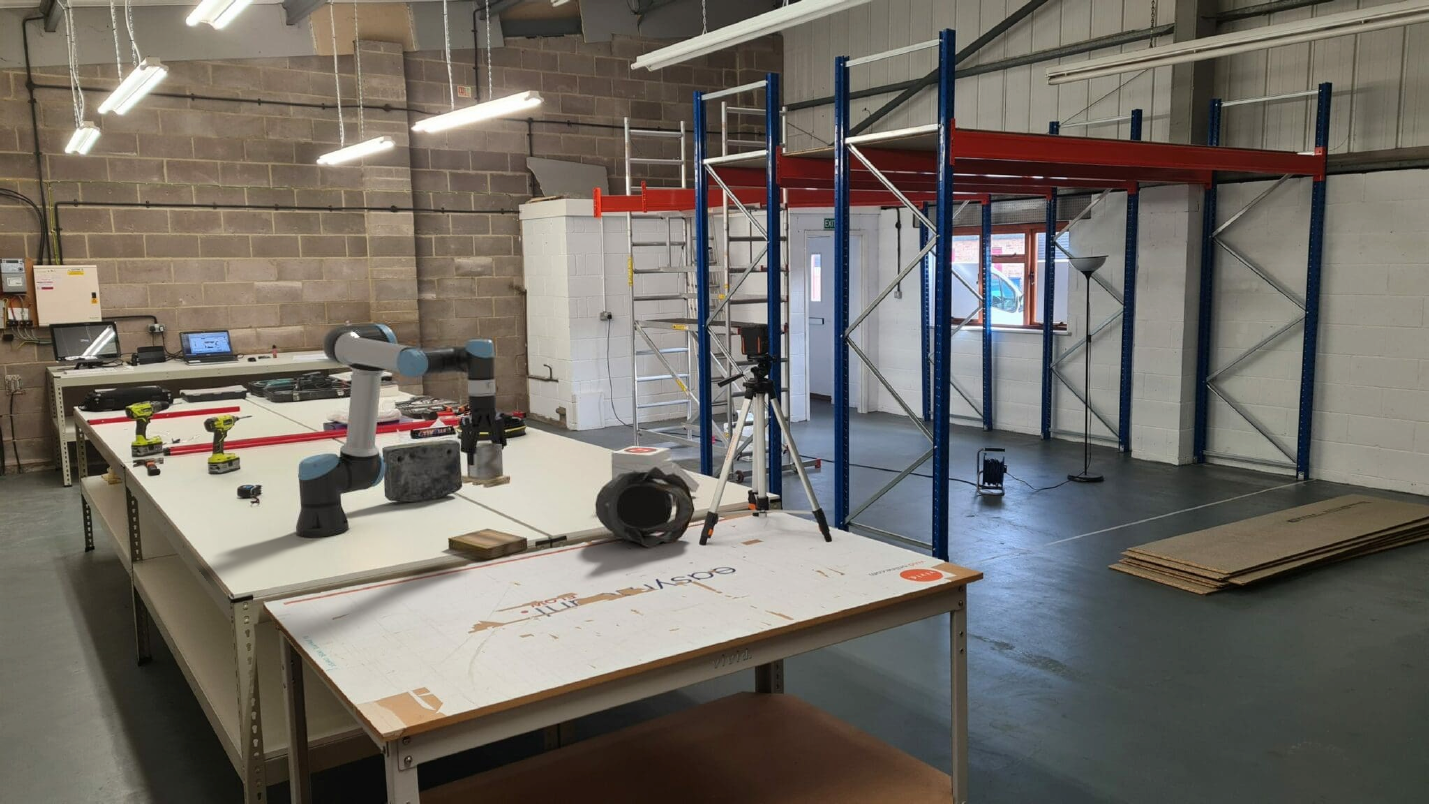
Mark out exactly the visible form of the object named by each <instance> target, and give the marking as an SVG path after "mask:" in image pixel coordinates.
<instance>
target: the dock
mask: <svg viewBox="0 0 1429 804" xmlns="http://www.w3.org/2000/svg"><path fill="white" fill-rule="evenodd" d="M447 540H448V543H447V544H448V549H449V550H452V551H457V552H461V553H464V554H467V555H470V556H475V557H478V558H482V559H485V560H490V559H494V558H498V557H501V556H504V555H509V554H513V553H516V552H520V551H523V550H525V549H528V537H524V536H519V535H515V534H512V533H508V532H504V531H503V532H502V531H498V530H495V529H491V528H484V529H480V530H476V531H472V532H469V533H465V534H460V535H456V536H452V537H448V538H447Z"/></svg>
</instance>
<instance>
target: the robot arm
mask: <svg viewBox="0 0 1429 804" xmlns="http://www.w3.org/2000/svg"><path fill="white" fill-rule="evenodd" d="M322 348H323V353H324V354H325V356H326V357H327V358H328V360H330V361H332V362H333V363H335V364H339V365H345V366H347V367H348V368H349V369H350V370H352V373H351V374H352V375H351V384H350V395H349V396H350V397H349V407H348V408H349V409H348V419H347V427H346V428H347V430H346V441H345V443H344V444H343V445H341V447H340V450H339V455H338V454H336V453H323V454H315V455H312V456H309V457H306V458H304V459H302V460H301V461H300V462H299V464H298V474H297V478H298V484H299V486H298V487H299V500H300V511H299V513H298V518H297V521H296V526H295V533H296V536H299V537H303V538H319V537H320V538H321V537H322V538H323V537H330V536H335V535H339V534H342V533H345V532H347V531H349V520H348V518H347V516H346V513H345V511H344V509H343V506H342V498H341V497H342V494H343V495H345V494H347V493H348V494H349V493H353V492H358V491H363V490H364V491H365V490H368V489H370V488H374V487H376V486H378V485H379V484H380V483H381V482H382V481H383V480H384V474H385V462H383V461H384V458H383V454H381V452H380V450H379V448H378V447H377V446H376V444H375V443H376V434H377V423H378V414H379V404H380V395H381V393H380V392H381V387H382V386H381V383H382V375H383V373H385V372H386V371H387V370H390V371H394V372H399V374H402V376H403V377H406V378H410V377H411V378H418V377H421V376H422V377H423V376H430V375H440V374H441V375H443V374H451V373H465V374H466V373H467V393H468V394H469V396H468V398H467V399H468V408H469V414H468V415H467V416H463V417H462V416H461V417H460V424H461V433H460V434H461V436H460V439H461V440H460V453H464V454H466V465H467V464H468V465H469V466H470V476H472V477H478V464H477V454H474V453H475V449H476V445H477V444H478V441H479V438H480V434H481V431H483V430H482V429H483V428H485V429H486V430H487V434H488V436H489V439H490V441H491V442H490V443H495V444H501V445H502V451H503V450H504V449H505V447H507V445H508V441H507V433H506V427H505V417H506V416H505V413H504V412H499V411H496V408H497V395H495V393H496V380H495V379H496V377H495V376H496V374H495V372H496V371H495V351H494V350H495V349H494V348H495V347H494V343H493V341H492V339H468V340H467V341H466V342H465V346H464V345H452V344H450V345H442V346H438V347H427V348H426V347H425V348H423V347H422V348H421V347H415V346H408V345H405V344H398V341H397V338H396V335H395V334H394V332H393V331H392V329H391V328H390V327H388V326H387V325H385V324H382V323H365V324H351V325H339V326H337V327H334V328H332V329H330V330H329V331H328V332H327V333H326V334H325V336H324V337H323V341H322Z"/></svg>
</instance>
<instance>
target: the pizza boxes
mask: <svg viewBox="0 0 1429 804" xmlns="http://www.w3.org/2000/svg"><path fill="white" fill-rule="evenodd" d="M654 467H657V468H659V469H660V470H661V471H662V472H663V473H664V474H665V475H668V474H675V475H677V476H680V477H681V478H682V479H683V480H684V481H685V483H686V484H687V486H688V488H689V490H690V493H696V492H697V491H698V489H699V487H700V484H699V483H698V482H697V481H696V480H695V479H694V478H693V477H692V476H690V474H689V473H687V471H685V470H684V469H683V468H682V467H681V466H680V465H679V464H677V463H676V462H673V459H672V458H671V448H669V447H654V446H653V447H651V446H640V445H639V446H638V445H637V446H636V445H631V446H629V447H625V448H623V449H619V450H616V451H612V452H611V480H613V479H615V478H617V477H618V475H619V474H621V473H624V472H633V471H636V472H647V471H649V470H651V469H652V468H654ZM653 480H654V481H656V482H658V483H663V484H667V483H665V482H664V481H663V480H661V479H660V480H658V479H653ZM669 495H670V497H671V499H672V503H673V500H674V496H672V495H671V494H669Z"/></svg>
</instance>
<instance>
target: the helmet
mask: <svg viewBox="0 0 1429 804" xmlns="http://www.w3.org/2000/svg"><path fill="white" fill-rule="evenodd" d="M653 479H658V480H660V479H661V480H663V481H664V482H665V483H667V484H663V483H658V482H656V481H654V480H653ZM669 494H671V495H672V496H673V498H675V507H676V508H675V515H674V519H672V520H670V519H671V517H672V511H673V502H672V499H671V497H670V495H669ZM595 499H596V500H595V514H596V516H597V518H598V520H599V522H600V523H601V524H602V525H603V527H604V528H606V530H608V531H609V532H612V534H613V535H614V537H616V538H617V539H619V540H625V541H628V542H637V543H639V544H641V545H642V546H644V547H646V548H648V549H652V548H653V547H656V546H657V545H658V544H660V543H661V542H664V543H667V544H670V543H674V542H677V541H678V540H679V539H681V538H682V536H683V535H684V534H685V533H686V532H687V529H688V528H689V525H690V523H691V520H692V517H693V515H694V513H695V505H694V503H693V502H694V501H693V498H692V494H691V491H690V490H689V488H688V486H687V484H686V483H685V481H684V480H683V479H682V478H681V477H680V476H677V475H675V474H668V475H665V474H664V473H663V472H662V471H661V470H660V469H659V468H657V467H654V468H652V469H651V470H649V471H647V472H636V471H633V472H624V473H621V474H619V475H618V477H617V478H615V479H613V480H612V479H611V480H609V482H607V483H606V484H605V485H603V486H602V487H601V489H600V490H599V492H598V493H597V496H596V498H595ZM669 520H670V521H669ZM655 533H660V534H659V535H653V534H655Z"/></svg>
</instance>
